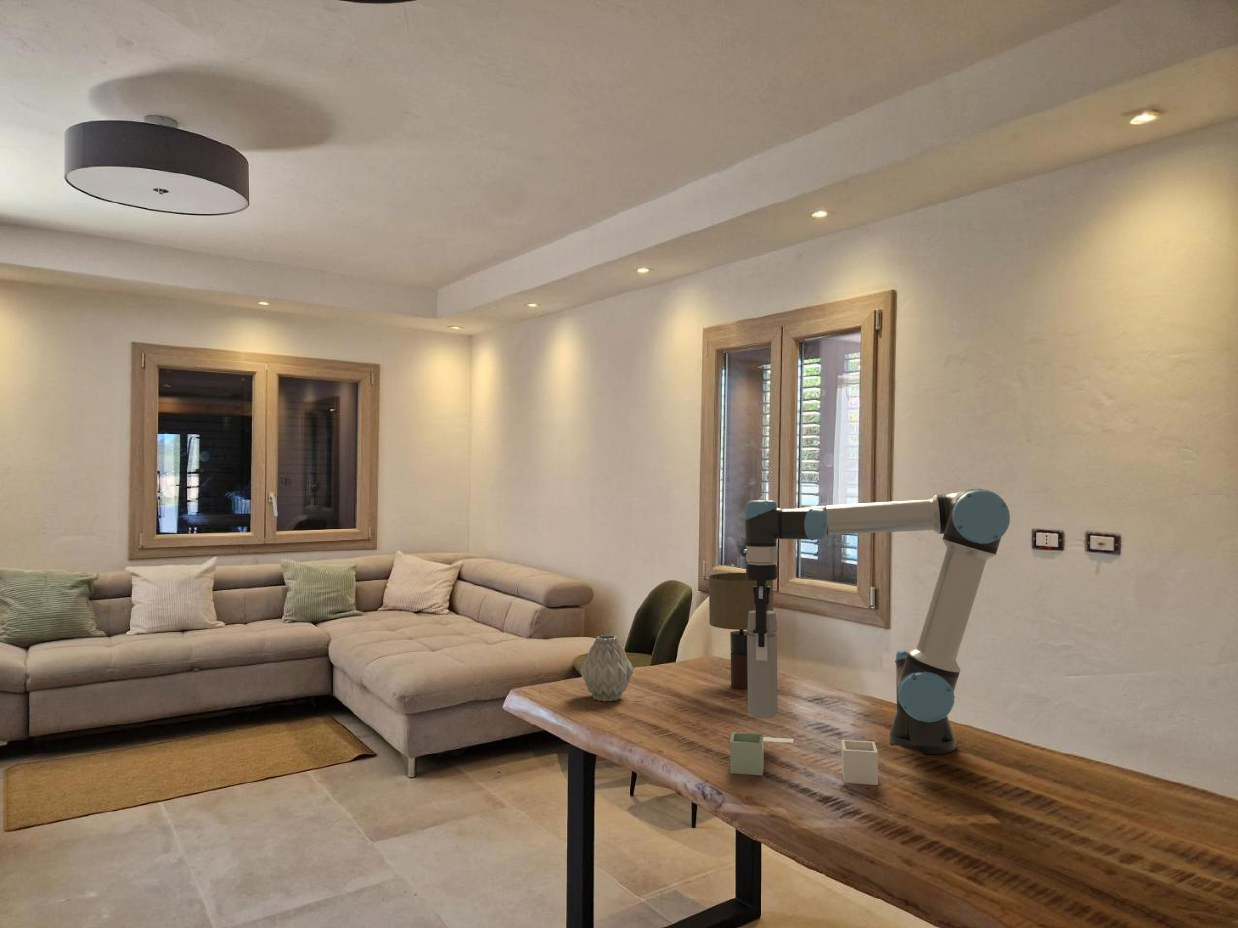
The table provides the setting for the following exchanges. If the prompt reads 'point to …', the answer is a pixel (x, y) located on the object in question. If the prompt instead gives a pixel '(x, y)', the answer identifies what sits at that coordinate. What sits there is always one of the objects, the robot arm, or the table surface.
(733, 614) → the lamp
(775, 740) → the felt mat
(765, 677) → the water bottle
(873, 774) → the cream open box
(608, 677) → the vase
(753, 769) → the sage open box
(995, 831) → the table surface
